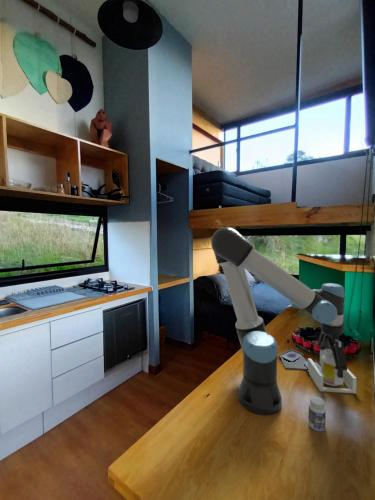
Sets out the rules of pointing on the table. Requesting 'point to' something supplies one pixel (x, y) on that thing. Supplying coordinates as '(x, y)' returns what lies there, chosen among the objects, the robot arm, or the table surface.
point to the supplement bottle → (328, 367)
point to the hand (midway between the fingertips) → (330, 373)
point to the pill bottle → (317, 414)
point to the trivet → (294, 364)
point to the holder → (318, 377)
